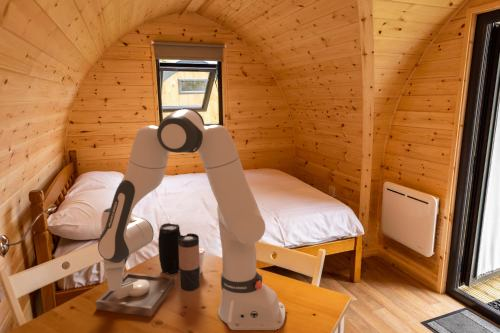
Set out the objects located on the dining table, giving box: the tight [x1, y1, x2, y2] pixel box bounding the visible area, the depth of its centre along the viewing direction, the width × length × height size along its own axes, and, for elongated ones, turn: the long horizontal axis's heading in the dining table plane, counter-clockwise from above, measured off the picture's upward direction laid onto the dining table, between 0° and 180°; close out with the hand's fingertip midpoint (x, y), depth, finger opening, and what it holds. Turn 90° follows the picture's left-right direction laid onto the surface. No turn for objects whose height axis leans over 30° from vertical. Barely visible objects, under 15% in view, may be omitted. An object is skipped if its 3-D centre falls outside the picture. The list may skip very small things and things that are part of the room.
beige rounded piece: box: [116, 280, 150, 300], centre depth 121 cm, size 12×8×4 cm
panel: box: [95, 272, 176, 317], centre depth 122 cm, size 20×20×3 cm
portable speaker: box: [157, 222, 182, 276], centre depth 139 cm, size 9×9×20 cm
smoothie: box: [199, 246, 206, 274], centre depth 139 cm, size 6×6×14 cm
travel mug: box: [178, 232, 201, 292], centre depth 128 cm, size 8×8×20 cm
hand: (119, 287), depth 119 cm, fingers closed, pressing on beige rounded piece
